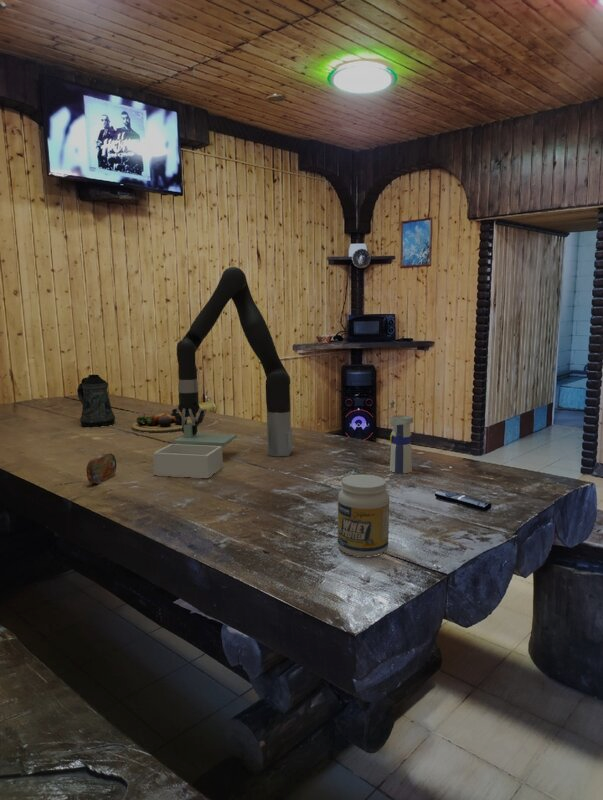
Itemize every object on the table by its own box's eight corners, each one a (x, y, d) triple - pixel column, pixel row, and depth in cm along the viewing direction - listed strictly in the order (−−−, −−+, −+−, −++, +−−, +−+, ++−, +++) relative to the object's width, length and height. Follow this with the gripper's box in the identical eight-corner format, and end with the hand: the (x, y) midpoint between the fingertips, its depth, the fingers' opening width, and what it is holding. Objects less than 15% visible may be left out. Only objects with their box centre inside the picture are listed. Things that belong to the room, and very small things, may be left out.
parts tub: (222, 467, 208) (222, 446, 206) (208, 478, 194) (207, 456, 193) (171, 464, 212) (170, 443, 211) (154, 475, 199) (152, 453, 197)
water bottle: (386, 473, 199) (387, 402, 195) (391, 466, 207) (392, 398, 203) (409, 475, 196) (411, 403, 192) (413, 468, 204) (415, 399, 200)
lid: (237, 440, 228) (236, 422, 227) (224, 449, 214) (223, 429, 213) (189, 438, 232) (188, 420, 231) (173, 446, 218) (172, 427, 217)
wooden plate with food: (167, 418, 305) (166, 403, 303) (211, 423, 287) (210, 407, 285) (117, 430, 279) (116, 413, 277) (163, 437, 261) (161, 419, 259)
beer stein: (108, 428, 279) (105, 377, 275) (69, 428, 279) (65, 377, 276) (119, 421, 296) (117, 373, 292) (82, 421, 296) (79, 373, 292)
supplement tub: (330, 555, 134) (330, 485, 131) (345, 535, 145) (345, 471, 142) (382, 562, 129) (383, 490, 127) (393, 542, 141) (394, 475, 138)
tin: (94, 487, 187) (92, 462, 185) (85, 486, 187) (83, 461, 186) (117, 474, 201) (116, 450, 200) (109, 473, 202) (108, 450, 201)
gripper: (209, 389, 223) (210, 433, 226) (175, 388, 226) (177, 431, 229) (201, 392, 216) (203, 437, 219) (167, 391, 219) (169, 435, 222)
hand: (190, 434), depth 224 cm, fingers closed on lid, 3 cm apart
